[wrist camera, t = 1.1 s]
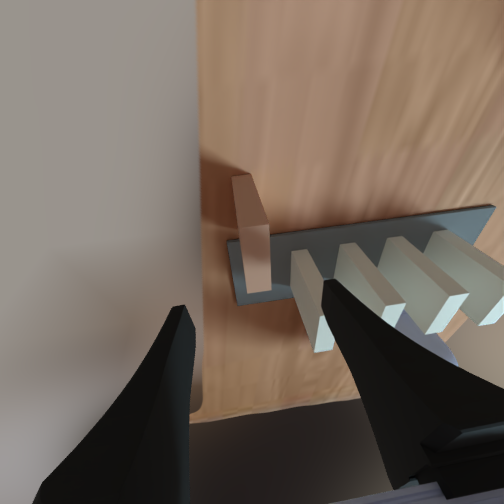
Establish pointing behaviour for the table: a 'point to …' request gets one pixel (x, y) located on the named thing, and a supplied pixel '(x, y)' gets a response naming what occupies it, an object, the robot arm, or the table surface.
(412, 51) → the table surface
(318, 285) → the domino
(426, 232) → the mat
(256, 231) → the terracotta domino
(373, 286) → the domino
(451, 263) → the domino
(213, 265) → the table surface
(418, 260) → the domino
